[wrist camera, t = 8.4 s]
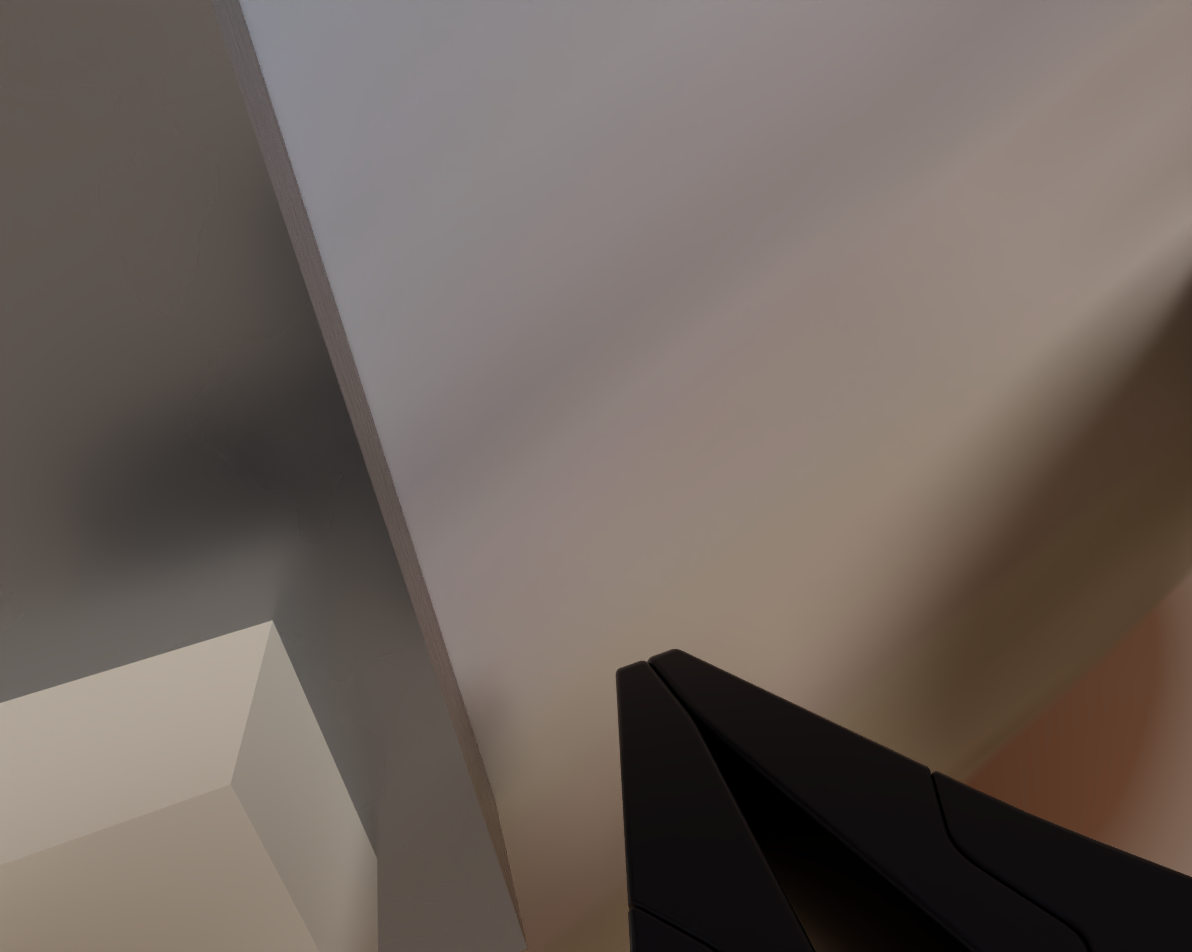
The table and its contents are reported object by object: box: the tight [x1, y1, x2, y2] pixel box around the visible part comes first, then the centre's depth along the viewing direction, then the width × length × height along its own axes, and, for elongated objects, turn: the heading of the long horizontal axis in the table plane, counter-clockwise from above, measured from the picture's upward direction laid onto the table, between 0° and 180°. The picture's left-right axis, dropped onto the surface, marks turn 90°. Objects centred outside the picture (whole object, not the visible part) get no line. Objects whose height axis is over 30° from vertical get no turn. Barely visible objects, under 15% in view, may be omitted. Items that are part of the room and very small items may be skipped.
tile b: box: [0, 620, 378, 952], centre depth 7 cm, size 4×4×2 cm
